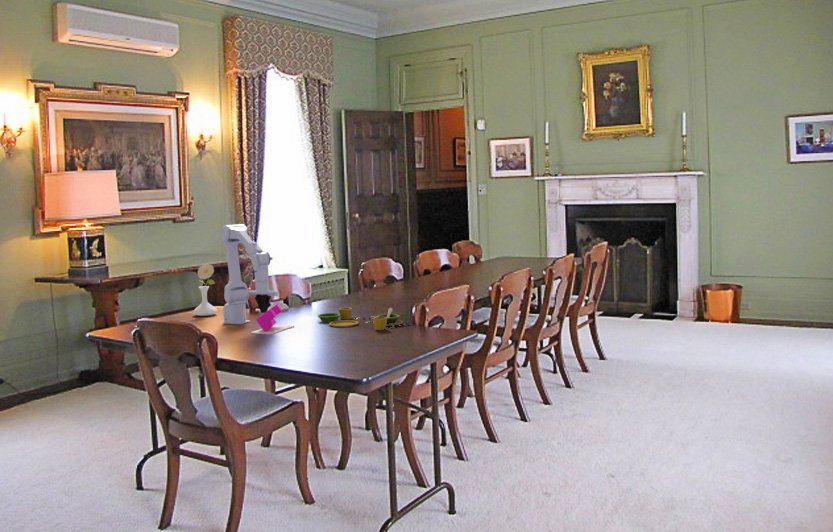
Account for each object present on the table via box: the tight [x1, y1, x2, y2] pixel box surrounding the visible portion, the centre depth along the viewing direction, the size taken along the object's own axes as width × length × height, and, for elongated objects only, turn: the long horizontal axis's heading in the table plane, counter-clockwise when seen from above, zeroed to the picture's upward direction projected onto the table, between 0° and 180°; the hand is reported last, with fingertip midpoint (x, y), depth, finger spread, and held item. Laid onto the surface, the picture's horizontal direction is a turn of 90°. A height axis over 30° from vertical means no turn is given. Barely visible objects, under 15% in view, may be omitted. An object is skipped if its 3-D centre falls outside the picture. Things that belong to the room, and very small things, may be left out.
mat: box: [250, 324, 295, 336], centre depth 344 cm, size 10×18×1 cm, turn 157°
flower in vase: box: [192, 263, 218, 317], centre depth 385 cm, size 13×11×25 cm
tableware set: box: [317, 307, 404, 331], centre depth 354 cm, size 41×28×6 cm
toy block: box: [255, 303, 283, 332], centre depth 345 cm, size 15×6×8 cm
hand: (263, 312), depth 345 cm, fingers closed
